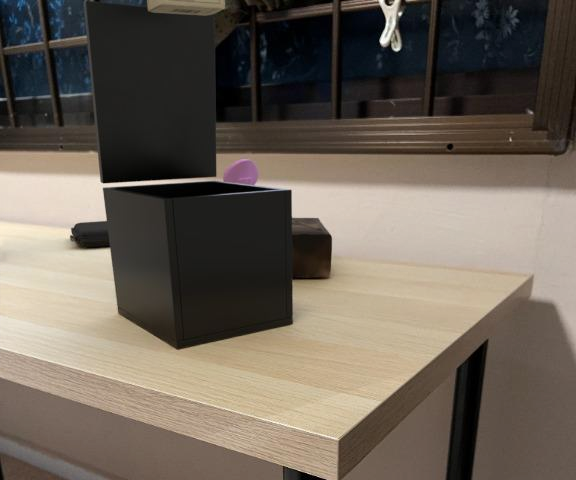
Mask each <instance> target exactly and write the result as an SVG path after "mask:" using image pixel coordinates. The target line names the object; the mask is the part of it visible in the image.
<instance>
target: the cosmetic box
mask: <svg viewBox="0 0 576 480" xmlns="http://www.w3.org/2000/svg"><path fill="white" fill-rule="evenodd" d="M146 4H147V7H148V11H150V12H154V13H171V14H188V15H203V16H206V15H211V14H217V13H219V12H221V11H222V10H225V9H226V0H146Z"/></svg>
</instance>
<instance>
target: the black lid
mask: <svg viewBox="0 0 576 480" xmlns="http://www.w3.org/2000/svg"><path fill="white" fill-rule="evenodd" d="M83 12H84V23H85V33H86V34H85V35H86V43H87V55H88V65H89V74H90V86H91V96H92V106H93V118H94V127H95V139H96V148H97V149H96V150H97V159H98V169H99V179H100V183H101V184H119V183H135V182H152V181H153V182H154V181H170V180H172V181H173V180H186V179H199V178H200V179H203V178H206V179H207V178H217V111H216V110H217V107H216V105H217V104H216V103H217V102H216V101H217V100H216V99H217V98H216V96H217V95H216V37H215V36H216V25H215V18H216V17H215V14H216V13H214V14H211V15H206V16H203V15H188V14H171V13H154V12H150V11H148V6H145V5H144V6H143V5H133V4H123V3H113V2H103V1H94V0H93V1H92V0H84V1H83Z"/></svg>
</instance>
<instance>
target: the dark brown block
mask: <svg viewBox="0 0 576 480" xmlns="http://www.w3.org/2000/svg"><path fill="white" fill-rule="evenodd" d="M332 254H333V236H332V235H331V232H329V230H328V229H327V228H326V227H325V225H324V224H323V223H322V222H321V220H320V218H319V217H292V279H293V278H299V279H300V278H304V279H305V278H306V279H308V278H311V279H312V278H330V276H331V273H332Z"/></svg>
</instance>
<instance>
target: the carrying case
mask: <svg viewBox="0 0 576 480" xmlns="http://www.w3.org/2000/svg"><path fill="white" fill-rule="evenodd" d="M70 232H71V234H70V235H69V239H70V241H71V242H75V243H77V244H81V246H83V247H84V248H99V247H102V248H103V247H110V243H109V235H108V227H107V220H101V221H99V220H98V221H86V222H85V221H84V222H77V223H75V224H74V226H73V227H71V229H70Z"/></svg>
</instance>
